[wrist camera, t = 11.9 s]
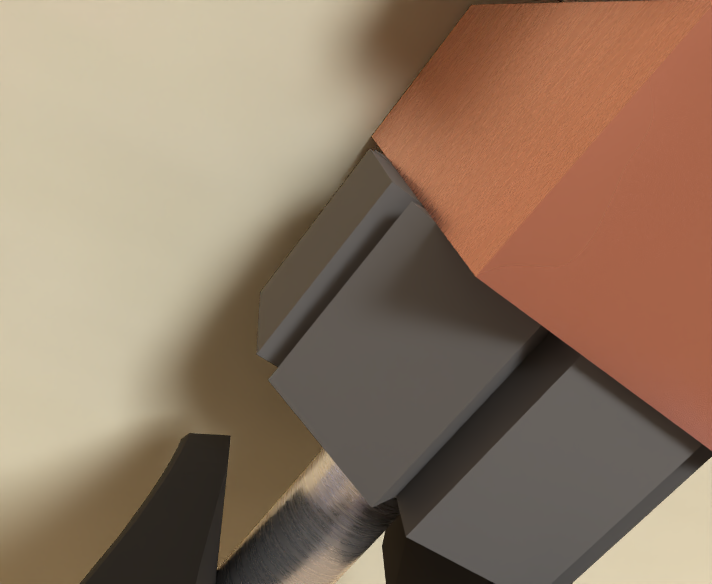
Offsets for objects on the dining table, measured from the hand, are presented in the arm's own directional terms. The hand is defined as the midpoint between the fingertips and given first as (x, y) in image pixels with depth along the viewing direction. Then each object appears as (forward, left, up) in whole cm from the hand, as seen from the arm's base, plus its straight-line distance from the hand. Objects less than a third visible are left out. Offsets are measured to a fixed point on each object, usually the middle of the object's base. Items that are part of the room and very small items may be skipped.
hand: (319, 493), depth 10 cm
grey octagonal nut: (0, +4, -2) cm, 4 cm away
